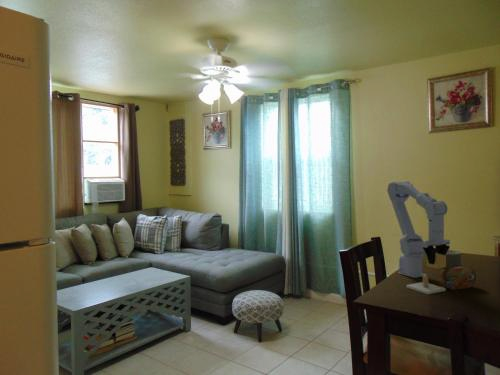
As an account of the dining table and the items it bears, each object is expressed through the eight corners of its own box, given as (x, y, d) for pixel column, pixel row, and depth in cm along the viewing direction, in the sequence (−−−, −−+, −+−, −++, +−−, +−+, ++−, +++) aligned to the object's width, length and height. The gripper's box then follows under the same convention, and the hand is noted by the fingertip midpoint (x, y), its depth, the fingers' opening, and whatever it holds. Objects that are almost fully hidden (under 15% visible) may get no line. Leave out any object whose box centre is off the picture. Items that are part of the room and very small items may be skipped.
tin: (446, 290, 143) (446, 269, 142) (440, 288, 146) (439, 267, 145) (476, 287, 147) (476, 266, 146) (470, 285, 150) (470, 264, 149)
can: (433, 262, 191) (433, 249, 191) (459, 263, 186) (459, 250, 186) (435, 267, 180) (435, 253, 180) (463, 269, 175) (463, 255, 175)
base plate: (406, 287, 147) (406, 275, 147) (423, 284, 152) (423, 272, 151) (427, 294, 138) (427, 281, 138) (445, 290, 142) (445, 278, 142)
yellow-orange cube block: (426, 265, 153) (426, 254, 153) (435, 264, 155) (435, 252, 155) (437, 268, 148) (437, 256, 148) (445, 267, 150) (445, 255, 150)
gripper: (432, 233, 145) (432, 267, 145) (456, 230, 151) (456, 263, 151) (417, 230, 151) (417, 263, 151) (441, 228, 157) (441, 259, 158)
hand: (436, 263), depth 152 cm, fingers closed on yellow-orange cube block, 5 cm apart
